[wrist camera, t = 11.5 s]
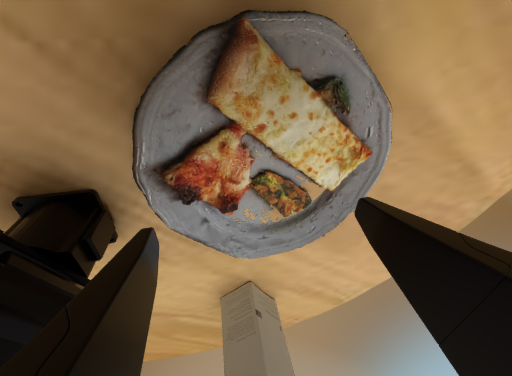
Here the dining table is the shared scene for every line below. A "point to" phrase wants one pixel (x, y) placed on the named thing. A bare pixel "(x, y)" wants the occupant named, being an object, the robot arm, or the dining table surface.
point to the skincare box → (253, 335)
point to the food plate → (261, 132)
